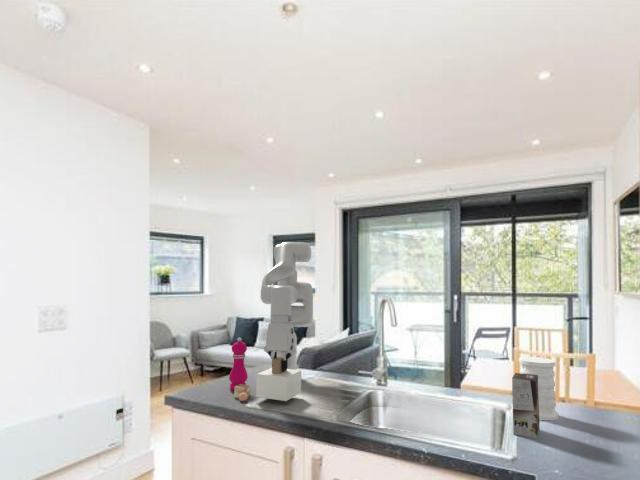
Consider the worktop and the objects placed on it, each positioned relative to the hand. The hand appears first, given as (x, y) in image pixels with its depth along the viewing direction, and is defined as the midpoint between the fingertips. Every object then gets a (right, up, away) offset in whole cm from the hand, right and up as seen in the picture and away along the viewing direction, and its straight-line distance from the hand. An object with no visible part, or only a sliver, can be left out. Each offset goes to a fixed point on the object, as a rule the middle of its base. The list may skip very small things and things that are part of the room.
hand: (279, 370), depth 152 cm
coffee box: (+76, -9, -30) cm, 82 cm away
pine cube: (-14, -11, +3) cm, 18 cm away
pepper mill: (-18, -12, +14) cm, 26 cm away
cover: (0, -9, -1) cm, 9 cm away
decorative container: (+87, -11, -14) cm, 89 cm away
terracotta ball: (-13, -10, -3) cm, 17 cm away
